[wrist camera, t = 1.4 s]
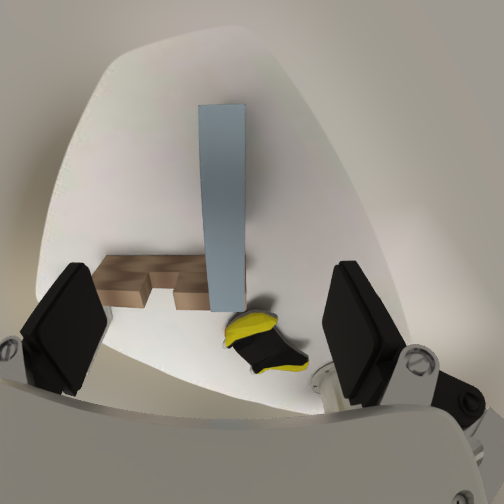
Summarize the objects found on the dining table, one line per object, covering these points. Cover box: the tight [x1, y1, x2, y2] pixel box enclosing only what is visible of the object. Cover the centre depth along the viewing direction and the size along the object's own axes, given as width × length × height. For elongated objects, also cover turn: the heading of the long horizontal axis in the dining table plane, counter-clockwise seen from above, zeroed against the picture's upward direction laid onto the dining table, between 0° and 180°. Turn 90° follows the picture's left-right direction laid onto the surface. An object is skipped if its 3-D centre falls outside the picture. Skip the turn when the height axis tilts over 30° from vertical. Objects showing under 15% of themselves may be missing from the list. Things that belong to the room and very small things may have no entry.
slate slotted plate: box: [198, 104, 245, 312], centre depth 23 cm, size 14×2×16 cm, turn 179°
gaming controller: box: [222, 309, 309, 374], centre depth 41 cm, size 15×6×10 cm
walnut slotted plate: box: [92, 255, 246, 310], centre depth 33 cm, size 20×2×8 cm, turn 89°
